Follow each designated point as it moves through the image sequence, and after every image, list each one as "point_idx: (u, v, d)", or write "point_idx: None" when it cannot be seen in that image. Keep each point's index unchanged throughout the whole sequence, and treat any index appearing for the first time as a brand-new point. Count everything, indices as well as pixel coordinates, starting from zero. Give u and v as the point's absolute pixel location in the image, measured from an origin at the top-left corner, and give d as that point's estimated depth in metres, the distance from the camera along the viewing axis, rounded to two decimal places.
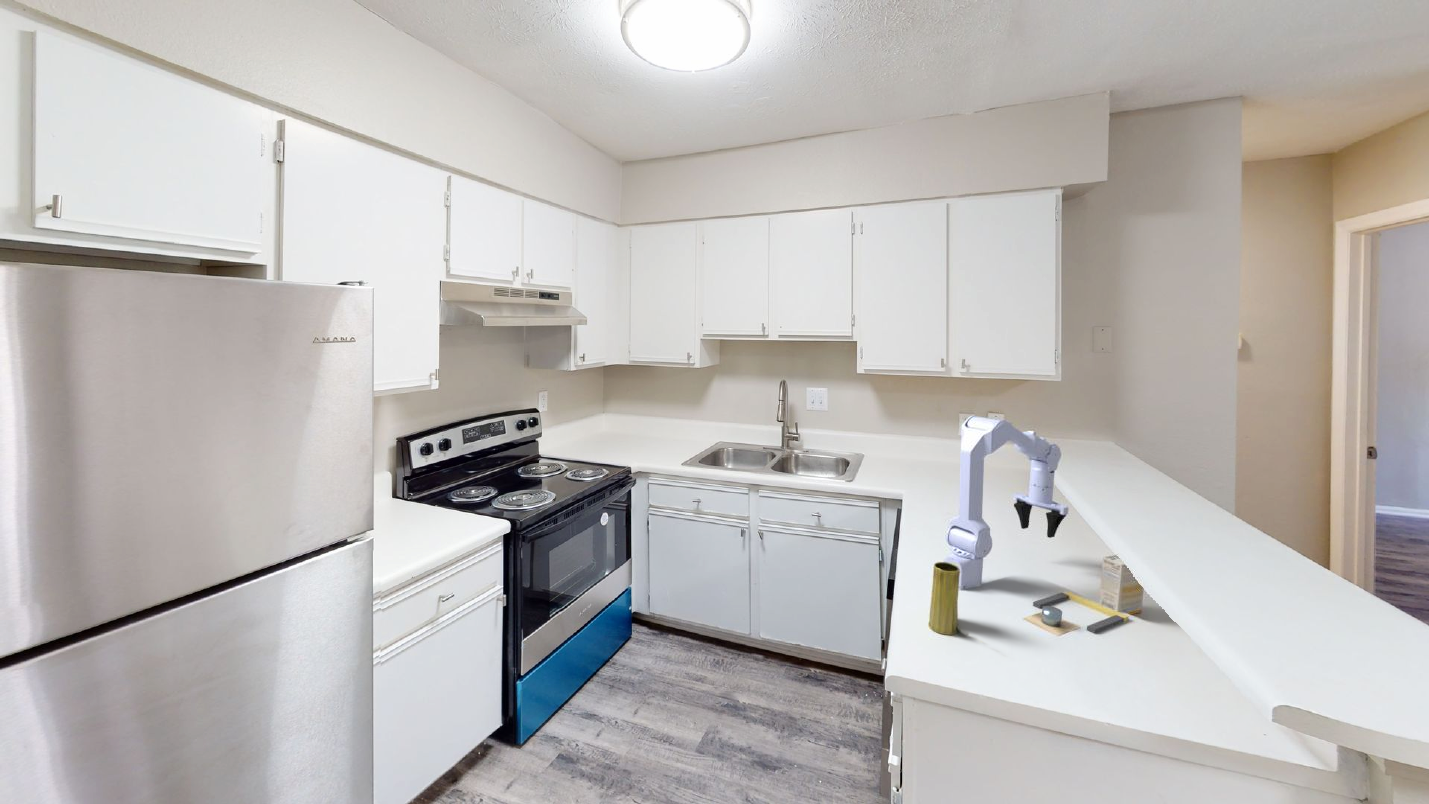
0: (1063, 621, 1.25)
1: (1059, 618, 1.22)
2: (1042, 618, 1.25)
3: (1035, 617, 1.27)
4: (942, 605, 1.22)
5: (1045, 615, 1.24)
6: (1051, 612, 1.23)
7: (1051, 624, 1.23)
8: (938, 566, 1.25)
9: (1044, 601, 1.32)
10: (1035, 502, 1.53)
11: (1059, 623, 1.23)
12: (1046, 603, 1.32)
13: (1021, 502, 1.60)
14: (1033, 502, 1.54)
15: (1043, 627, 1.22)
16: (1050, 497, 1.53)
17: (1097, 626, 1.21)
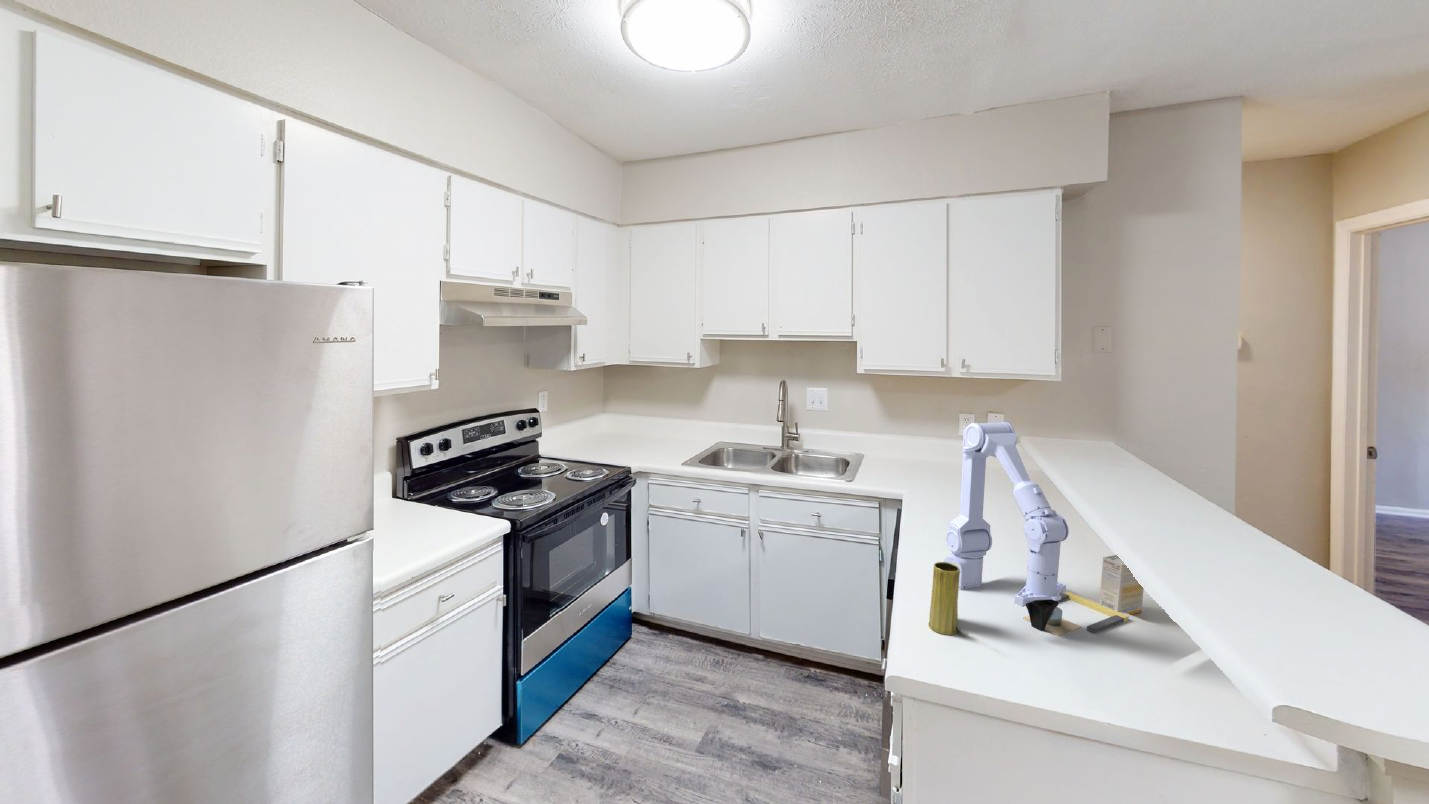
0: (1063, 620, 1.25)
1: (1059, 617, 1.22)
2: None
3: None
4: (942, 604, 1.22)
5: None
6: None
7: (1051, 623, 1.23)
8: (938, 566, 1.25)
9: None
10: None
11: (1059, 622, 1.23)
12: None
13: None
14: None
15: None
16: (1033, 585, 1.20)
17: (1097, 626, 1.21)
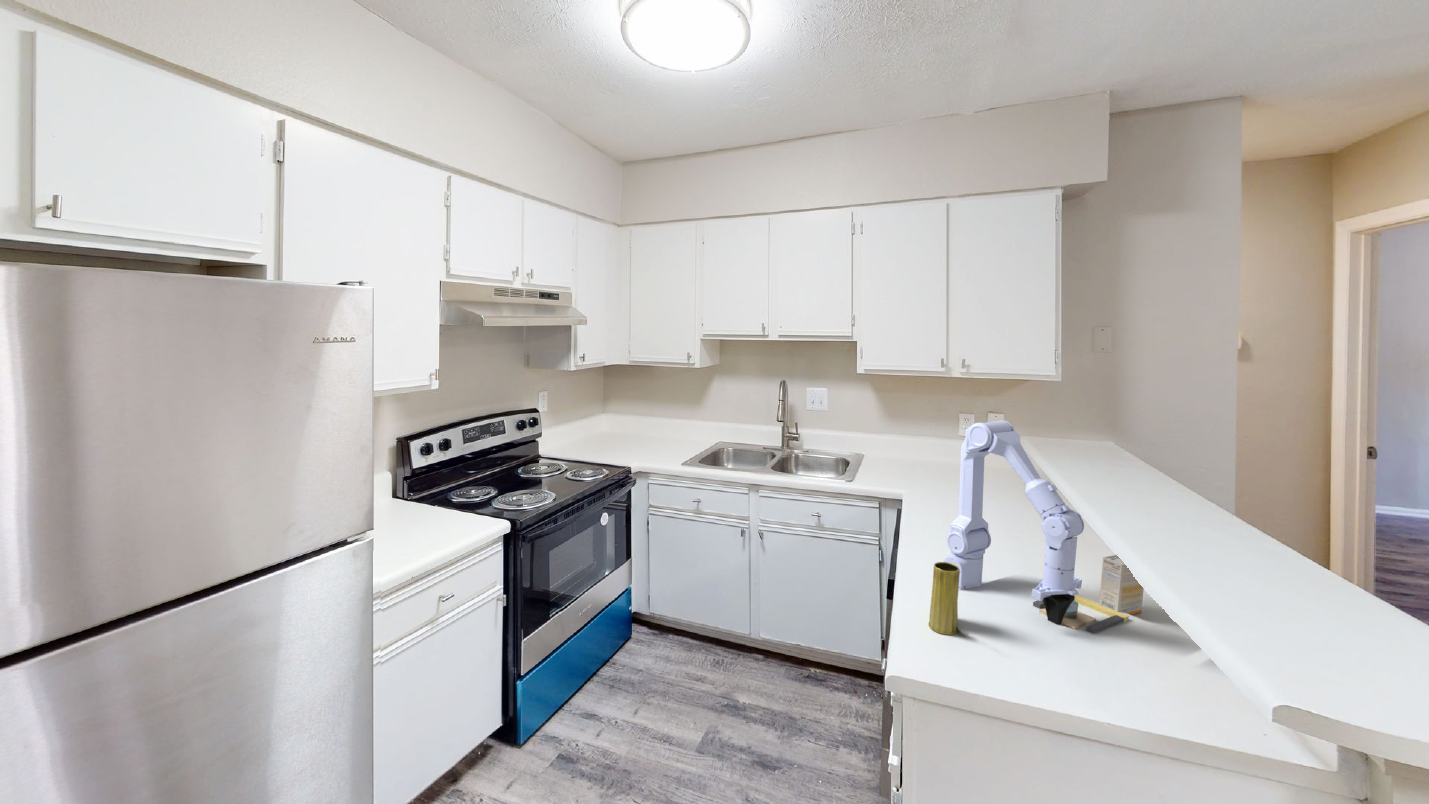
0: (1079, 613, 1.28)
1: (1075, 610, 1.25)
2: None
3: None
4: (942, 604, 1.22)
5: None
6: None
7: (1067, 616, 1.26)
8: (938, 566, 1.25)
9: None
10: None
11: (1075, 615, 1.25)
12: None
13: None
14: None
15: None
16: (1050, 580, 1.22)
17: (1097, 626, 1.21)
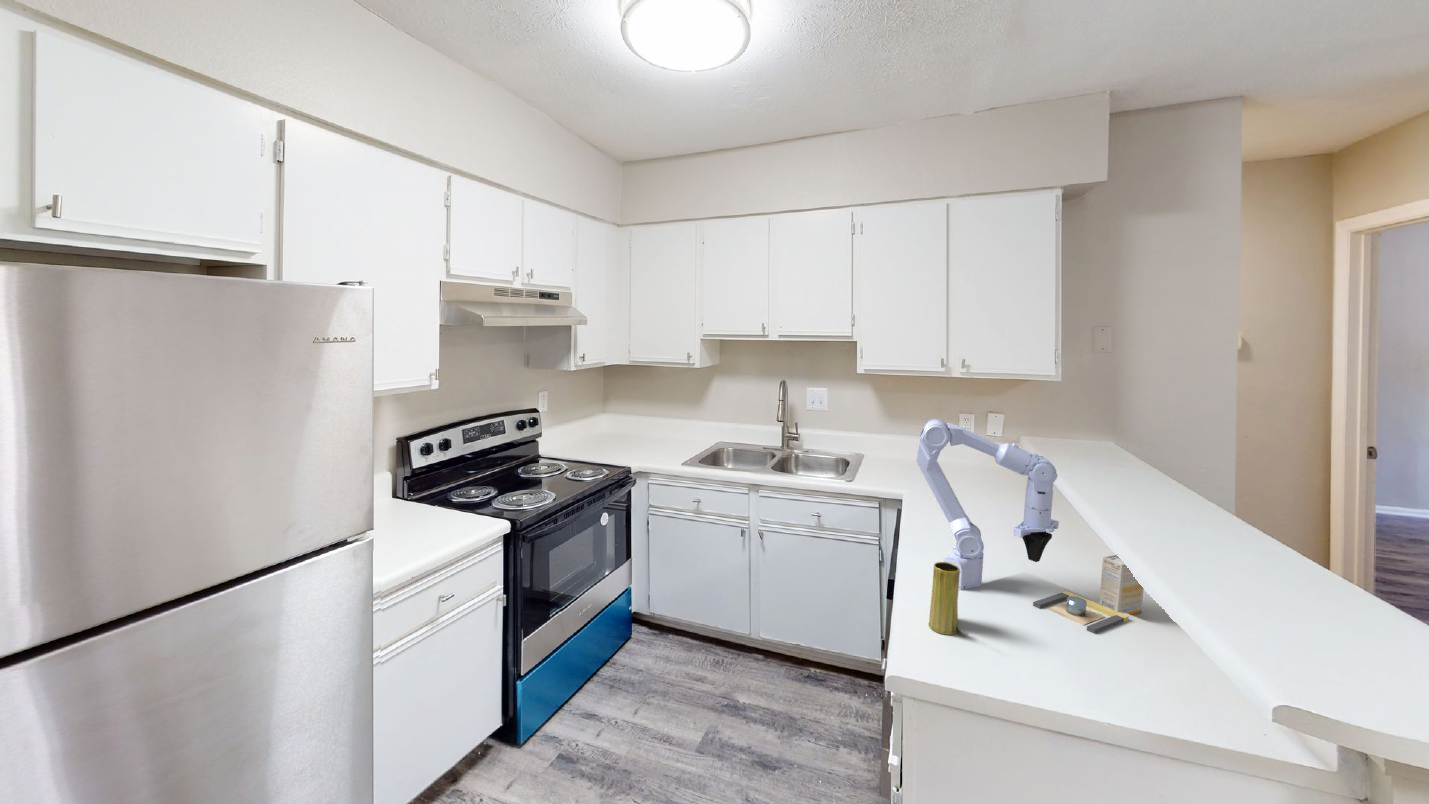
0: (1087, 611, 1.29)
1: (1084, 608, 1.27)
2: (1067, 608, 1.29)
3: (1060, 607, 1.31)
4: (942, 605, 1.22)
5: (1070, 605, 1.28)
6: (1076, 602, 1.27)
7: (1076, 613, 1.27)
8: (938, 566, 1.25)
9: (1044, 601, 1.32)
10: None
11: (1084, 612, 1.27)
12: (1046, 603, 1.32)
13: None
14: None
15: (1069, 616, 1.27)
16: (1029, 519, 1.36)
17: (1097, 626, 1.21)
